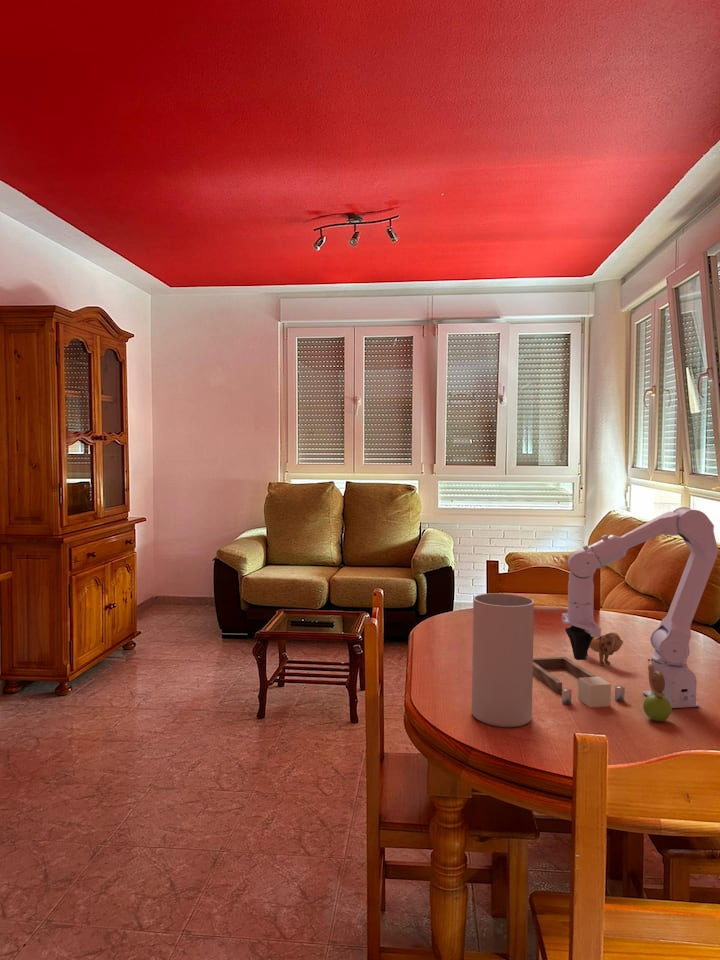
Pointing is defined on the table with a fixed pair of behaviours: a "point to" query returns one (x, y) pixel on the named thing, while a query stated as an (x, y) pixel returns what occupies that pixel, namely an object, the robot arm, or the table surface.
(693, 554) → the robot arm
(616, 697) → the posts
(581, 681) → the cube
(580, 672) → the stall
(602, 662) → the lion figurine
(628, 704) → the table surface
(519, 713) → the cylinder vase
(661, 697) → the snail figurine
